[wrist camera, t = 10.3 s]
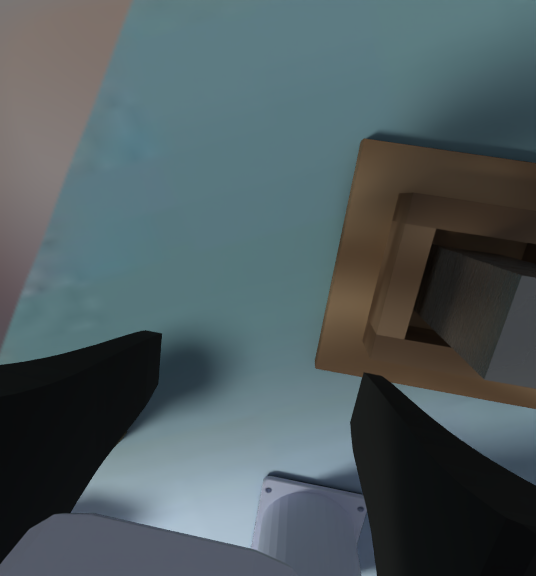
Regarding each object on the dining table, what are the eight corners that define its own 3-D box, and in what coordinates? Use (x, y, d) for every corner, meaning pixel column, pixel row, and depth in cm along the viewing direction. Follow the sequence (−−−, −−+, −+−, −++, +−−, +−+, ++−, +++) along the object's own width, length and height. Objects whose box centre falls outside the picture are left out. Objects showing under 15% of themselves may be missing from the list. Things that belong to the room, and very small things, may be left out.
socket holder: (525, 399, 22) (566, 436, 18) (314, 361, 22) (317, 389, 19) (618, 178, 18) (691, 173, 14) (360, 141, 19) (373, 129, 15)
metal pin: (481, 320, 20) (597, 399, 12) (413, 310, 20) (484, 379, 12) (503, 255, 18) (647, 294, 11) (431, 244, 19) (522, 275, 11)
